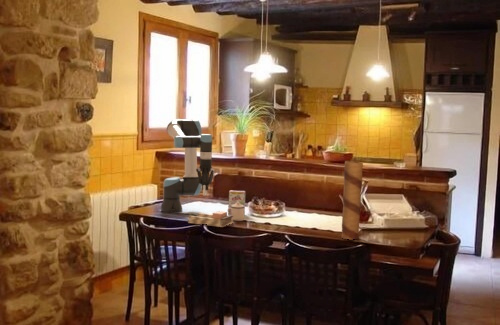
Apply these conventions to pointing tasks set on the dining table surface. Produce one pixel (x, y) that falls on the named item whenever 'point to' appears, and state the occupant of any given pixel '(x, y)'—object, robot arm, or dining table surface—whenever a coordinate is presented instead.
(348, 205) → the wafer roll
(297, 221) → the dining table surface
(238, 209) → the teacup with lid
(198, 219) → the chute
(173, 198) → the robot arm
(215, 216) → the block
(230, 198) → the candy bar box
